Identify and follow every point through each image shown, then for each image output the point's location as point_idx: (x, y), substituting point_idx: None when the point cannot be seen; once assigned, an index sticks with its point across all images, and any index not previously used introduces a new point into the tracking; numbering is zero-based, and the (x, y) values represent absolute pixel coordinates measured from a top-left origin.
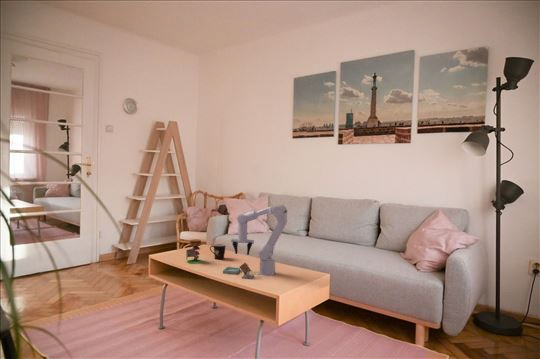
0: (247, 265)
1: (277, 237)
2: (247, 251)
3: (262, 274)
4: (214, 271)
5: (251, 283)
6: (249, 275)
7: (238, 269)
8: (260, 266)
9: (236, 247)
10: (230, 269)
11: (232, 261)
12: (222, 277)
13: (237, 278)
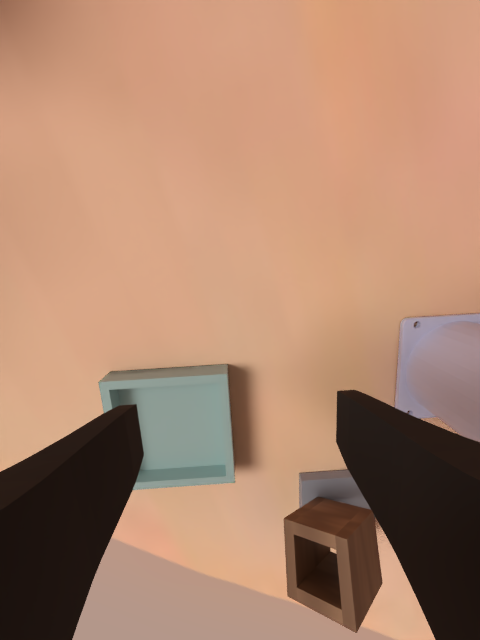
0: (360, 565)
1: None
2: (373, 503)
3: (431, 415)
4: (41, 449)
5: (383, 596)
6: (347, 497)
7: (230, 426)
8: (457, 430)
9: (68, 574)
10: (146, 387)
11: (6, 19)
12: (169, 553)
13: (273, 542)
